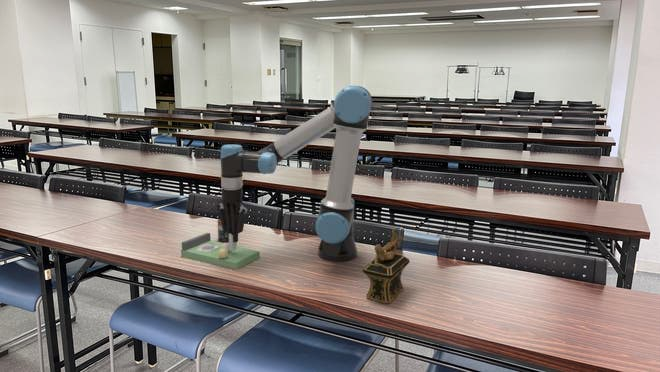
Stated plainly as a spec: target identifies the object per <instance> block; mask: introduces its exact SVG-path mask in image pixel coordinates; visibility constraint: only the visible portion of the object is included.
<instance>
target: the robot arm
mask: <svg viewBox="0 0 660 372" xmlns="http://www.w3.org/2000/svg"><path fill="white" fill-rule="evenodd" d="M372 107H373V98H372V94H371V93H370V92H369V91H368V89H366V88H365V87H363V86H360V85H347V86H346V87H344V88H342V89H340V91H338V93H337V94H336V96H335V99H334V100H333V101H331V103H330V106H328V107H327V108H326V109H325V110H322V111H321V112H320V113H317V114H316V115H315V116H313V117H312V118H310V119H308V120H307V121H305V122H304V123H302V124H300V125H299V126H297V127H295V128H294V129H293V130H291V131H289V132H288V133H286V134H285V135H283V136H281V137H280V138H278V139H277V140H275V141H273V142H272V143H270V144H269V145H267V146H266V147H263V148H262V149H260V150H258V151H245V150H243V149H244V148H243V146H242V145H241V144H224V145H221V148H220V158H219V159H220V171H221V173H220V180H221V182H220V185H221V186H220V187H221V199H222V201H221V202H220V203H218V204H217V205H216V208H217V210H218V213H219V218H220V219H221V224H222V229H223V231H226V232H227V239H228V241H229V242H228V243H229V251H234V250H236V249H237V246H238V242H239V234H240V233H242V232H244V226H245V222H246V216H247V214H248V212H249V208H248V207H245V206H244V203H243V197H244V196H243V195H244V194H243V193H244V192H243V191H244V189H243V185H244V183H243V173H249V174H250V173H251V174H262V175H266V174H271V175H273V174H274V173H275V172H276V169H277V166H278V164H280V163H281V162H283V161H284V160H285V159H287V158H289V157H290V156H292V155H293V154H295V153H297V152H299V151H300V150H302V149H303V148H305V147H307V146H308V145H310V144H311V143H313V142H315V141H316V140H318V139H320V138H321V137H323V136H325V135H326V134H328V133H330V132H331V131H333V130H334V129H336V130H335V131H336V132H335V138H334V144H333V149H332V155H331V156H332V157H331V163H330V170H329V174H328V175H329V176H328V182H327V189H326V195H325V197H324V198H323V199H322V200H320V206H319V212H318V217H317V219H316V221H315V232H316V234H317V236H318V237H319V238H320V239H321V240H320V243H319V245H318V248H317V249H318V250H317V255H318V257H320V258H321V259H322V260H326V261H331V262H347V261H346V260H348V261H351V260H353V258H354V259H356V257H357V256H358V248H357V245H356V241H355V239H354V219H355V218H354V216H355V200H354V198H353V197H352V193H353V187H354V186H353V185H354V181H355V175H356V170H357V169H356V168H357V162H358V158H359V156H358V155H359V151H360V146H361V139H362V134H363V133H364V132H366V131H367V129H368V125H369V120H370V114H371V110H372ZM225 226H226V227H225Z"/></svg>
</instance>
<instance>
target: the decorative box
mask: <svg viewBox="0 0 660 372" xmlns="http://www.w3.org/2000/svg"><path fill="white" fill-rule="evenodd" d="M391 231H392V236H391V239H390V242H388V243H387V244H385V245H384V246H383V247H382V246H381V244H376V245H375V246H374V251H375V253H376V254H375V257H374V259H372V260H371V261H370V262H368V264H367V265H365V266H364V267H363V269H362V272H363V274H364V275H365V276H367V278H368V279H369V282H370V286H369V287H370V288H369V290H368V292H367V293H366V296H365V298H366V297H367V298H369V299H368V300H370V299H372V300H371V301H374V300H376V301H375V302H378V301H379V302H378V303H381V302H383V303H382V304H385V303H390V304H391V303H392V302H393V301H395V300H396V298H398V296H399V295H400V294H401V293H402V292H403V291H404V290H405V289H404V288H405V287H404V286H403V284H402V273H403V271H404V270H405V268H406V267H407V266H408V264H410V258H408V257H406V256H405V255H403V254H398V253H396V250H397V245H398V244H399V243H401V242H402V241H403V238H404V235H401V236H398V234H397V233H396V232H395V230H394V228H392V229H391ZM367 298H366V299H367Z"/></svg>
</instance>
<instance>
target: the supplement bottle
mask: <svg viewBox="0 0 660 372" xmlns="http://www.w3.org/2000/svg"><path fill="white" fill-rule="evenodd" d="M225 227H226V226H225ZM217 238H218V239H217V240H218V241H219V242H220V243H229V241H228V239H227V232H226V231H223V229H222V224H221V219H220V217H219V218H218V219H217Z"/></svg>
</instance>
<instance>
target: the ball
mask: <svg viewBox="0 0 660 372" xmlns="http://www.w3.org/2000/svg"><path fill="white" fill-rule="evenodd" d="M223 243H224V244H223V245H222V248H225V249H227V251H228V252H229V242H223Z"/></svg>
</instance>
